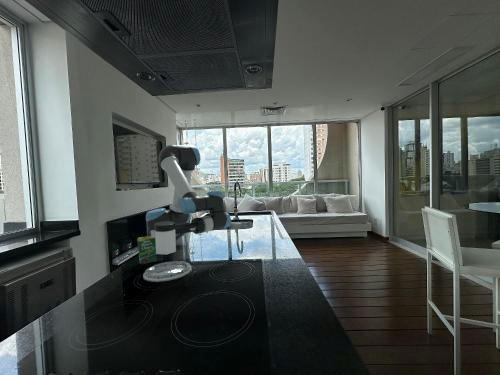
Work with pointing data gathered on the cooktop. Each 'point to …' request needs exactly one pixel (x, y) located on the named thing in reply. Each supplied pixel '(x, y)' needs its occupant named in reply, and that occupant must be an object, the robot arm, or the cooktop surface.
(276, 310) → the cooktop surface
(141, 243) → the coffee box
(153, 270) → the rosette plate
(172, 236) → the jar
